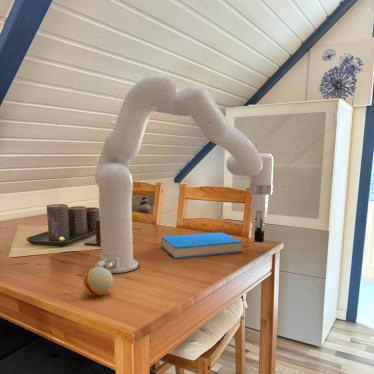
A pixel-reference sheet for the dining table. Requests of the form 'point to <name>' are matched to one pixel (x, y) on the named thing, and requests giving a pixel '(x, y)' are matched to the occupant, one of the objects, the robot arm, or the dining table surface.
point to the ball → (98, 281)
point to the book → (200, 245)
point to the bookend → (97, 240)
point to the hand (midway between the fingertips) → (259, 241)
